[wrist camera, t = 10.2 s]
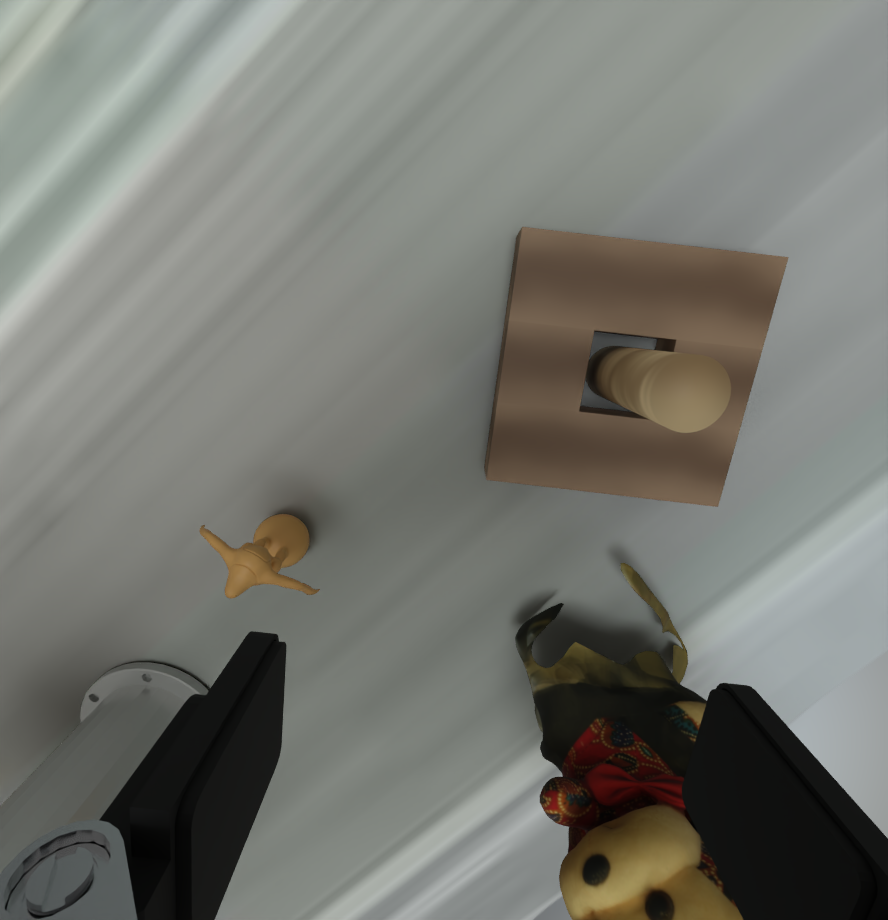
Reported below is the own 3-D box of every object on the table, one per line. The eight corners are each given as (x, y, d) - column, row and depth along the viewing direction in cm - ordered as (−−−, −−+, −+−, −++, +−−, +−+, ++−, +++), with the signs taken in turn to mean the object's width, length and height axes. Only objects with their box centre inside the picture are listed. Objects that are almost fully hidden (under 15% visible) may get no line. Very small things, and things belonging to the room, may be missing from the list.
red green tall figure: (742, 592, 36) (1138, 1207, 14) (630, 715, 44) (772, 1223, 22) (558, 534, 34) (685, 1121, 13) (477, 673, 43) (472, 1172, 21)
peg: (631, 400, 34) (719, 437, 22) (581, 394, 34) (643, 428, 22) (642, 349, 33) (740, 359, 21) (591, 343, 33) (660, 350, 21)
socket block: (696, 492, 36) (717, 506, 33) (484, 467, 36) (486, 479, 33) (758, 264, 31) (788, 257, 28) (516, 236, 31) (522, 226, 28)
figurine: (233, 523, 38) (131, 609, 26) (266, 461, 36) (175, 523, 25) (325, 574, 38) (266, 680, 27) (361, 516, 37) (316, 601, 25)
